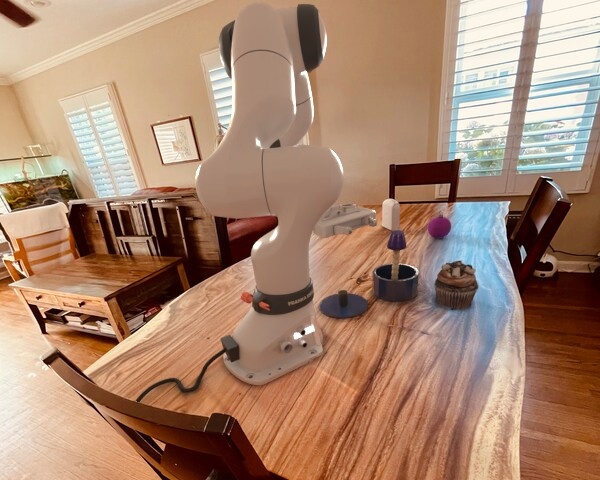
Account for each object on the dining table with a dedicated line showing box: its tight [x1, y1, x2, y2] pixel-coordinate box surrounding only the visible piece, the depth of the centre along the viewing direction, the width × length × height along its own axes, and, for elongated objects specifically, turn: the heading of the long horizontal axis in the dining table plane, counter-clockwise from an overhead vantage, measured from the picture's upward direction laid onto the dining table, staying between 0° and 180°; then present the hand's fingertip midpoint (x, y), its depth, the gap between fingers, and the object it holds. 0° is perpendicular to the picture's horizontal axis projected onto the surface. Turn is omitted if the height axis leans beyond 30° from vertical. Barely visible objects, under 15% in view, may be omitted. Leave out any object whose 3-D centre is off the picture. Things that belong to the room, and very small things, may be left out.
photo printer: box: [381, 198, 401, 232], centre depth 135 cm, size 10×4×12 cm, turn 13°
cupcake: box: [434, 260, 480, 311], centre depth 75 cm, size 10×10×10 cm
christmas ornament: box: [427, 211, 452, 239], centre depth 118 cm, size 8×8×10 cm
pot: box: [371, 263, 420, 303], centre depth 83 cm, size 11×11×6 cm
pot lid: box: [318, 289, 369, 320], centre depth 79 cm, size 12×12×5 cm
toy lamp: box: [386, 229, 407, 280], centre depth 80 cm, size 5×5×17 cm
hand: (363, 227), depth 86 cm, fingers open, 8 cm apart
